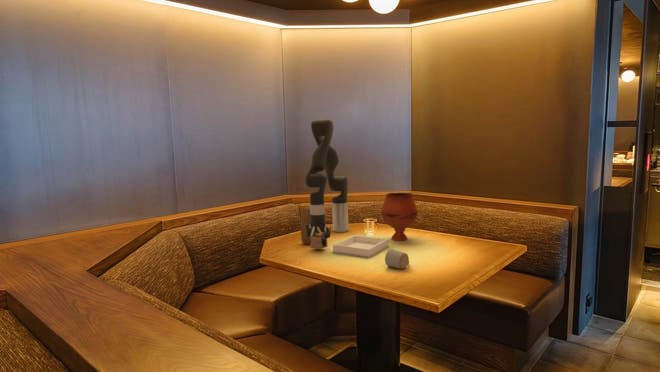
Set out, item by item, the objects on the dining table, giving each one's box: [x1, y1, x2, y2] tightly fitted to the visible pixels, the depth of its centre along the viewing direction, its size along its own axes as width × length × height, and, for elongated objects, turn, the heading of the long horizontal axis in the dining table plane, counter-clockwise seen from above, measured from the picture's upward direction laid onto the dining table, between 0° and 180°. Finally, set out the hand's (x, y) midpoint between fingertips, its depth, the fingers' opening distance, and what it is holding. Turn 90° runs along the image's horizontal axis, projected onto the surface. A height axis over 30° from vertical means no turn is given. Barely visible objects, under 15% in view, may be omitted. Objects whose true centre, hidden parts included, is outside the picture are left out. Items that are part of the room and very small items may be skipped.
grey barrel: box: [384, 248, 410, 270], centre depth 184 cm, size 11×8×8 cm
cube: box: [310, 234, 328, 250], centre depth 215 cm, size 6×6×6 cm
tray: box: [332, 234, 390, 259], centre depth 213 cm, size 22×20×4 cm
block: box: [300, 205, 320, 245], centre depth 230 cm, size 11×8×20 cm
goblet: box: [381, 192, 418, 241], centre depth 231 cm, size 19×19×25 cm
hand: (318, 245), depth 215 cm, fingers closed on cube, 6 cm apart
